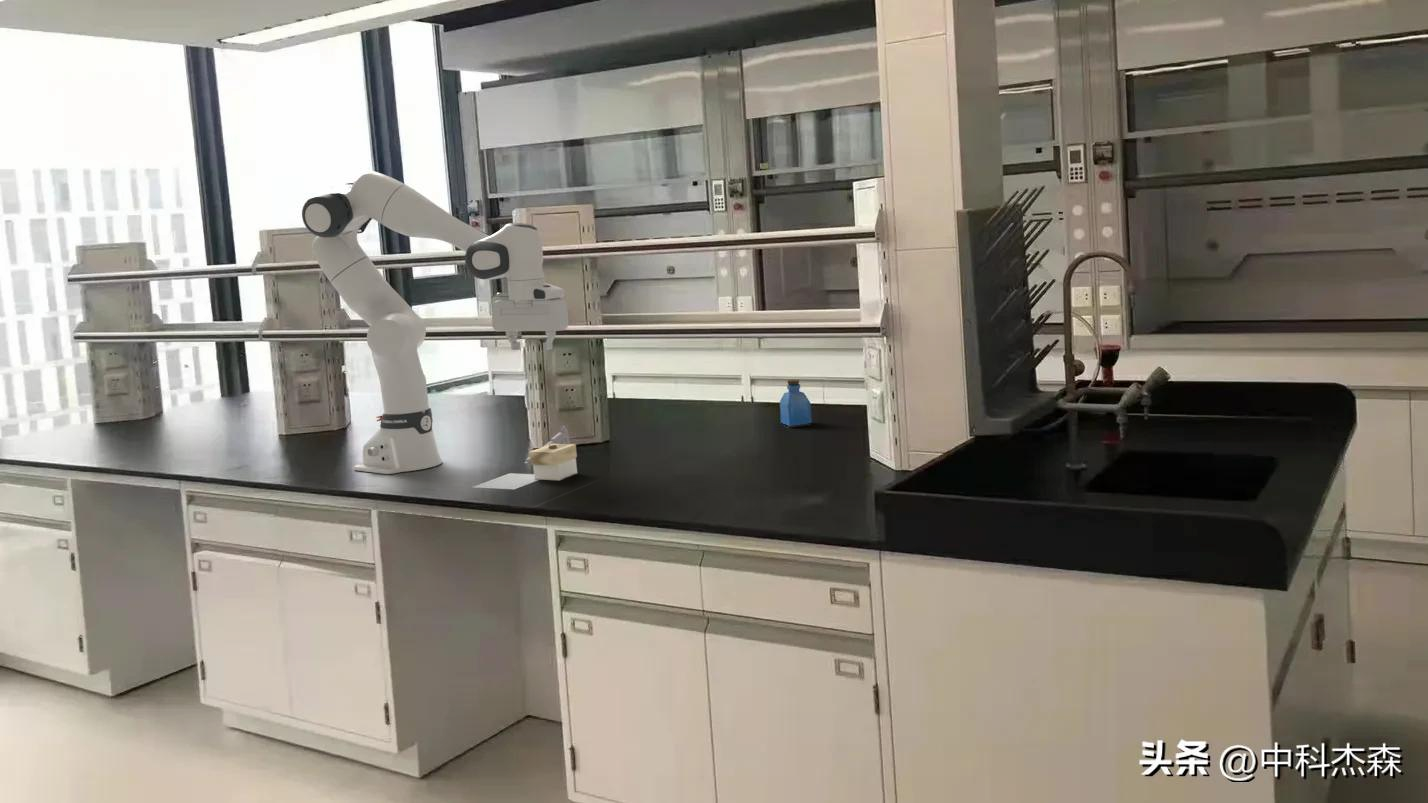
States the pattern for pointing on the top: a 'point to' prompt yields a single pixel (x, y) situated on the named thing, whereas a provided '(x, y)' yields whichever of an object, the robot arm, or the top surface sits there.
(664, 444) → the top surface
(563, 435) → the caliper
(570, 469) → the dish
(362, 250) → the robot arm
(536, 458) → the lid
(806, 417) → the perfume bottle
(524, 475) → the mat
